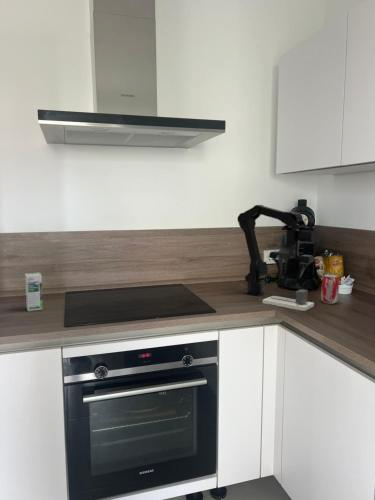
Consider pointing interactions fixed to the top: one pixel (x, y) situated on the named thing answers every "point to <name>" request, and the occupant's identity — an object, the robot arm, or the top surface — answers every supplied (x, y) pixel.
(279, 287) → the top surface
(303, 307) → the fader panel
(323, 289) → the soda can
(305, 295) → the fader knob
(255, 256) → the robot arm
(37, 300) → the syrup box
